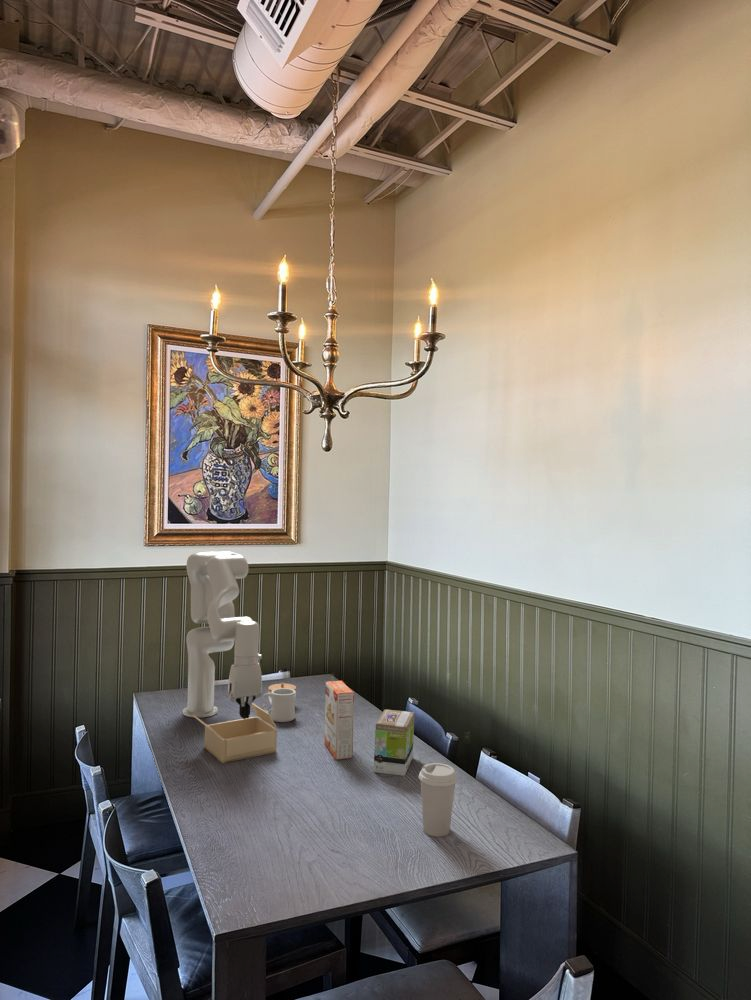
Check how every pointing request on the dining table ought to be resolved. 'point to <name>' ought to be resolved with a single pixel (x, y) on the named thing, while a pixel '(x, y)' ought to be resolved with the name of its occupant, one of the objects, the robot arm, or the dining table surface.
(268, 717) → the flap far
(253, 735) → the carton
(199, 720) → the flap near
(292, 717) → the mug
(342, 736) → the cracker box
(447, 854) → the dining table surface
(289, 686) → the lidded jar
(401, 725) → the tea box
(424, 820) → the coffee cup
